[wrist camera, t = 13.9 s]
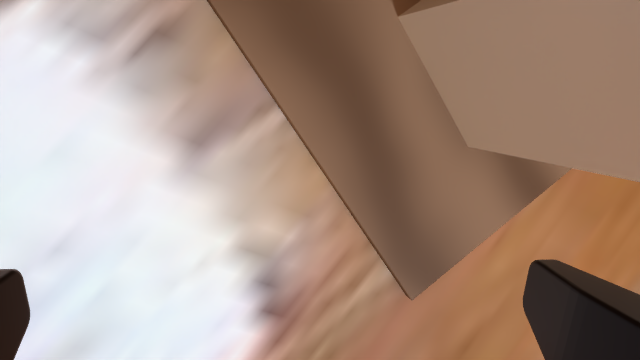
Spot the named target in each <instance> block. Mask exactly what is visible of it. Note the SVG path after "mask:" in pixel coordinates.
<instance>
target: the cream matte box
mask: <svg viewBox="0 0 640 360" xmlns="http://www.w3.org/2000/svg"><path fill="white" fill-rule="evenodd" d="M398 18H399V20H400V22H401V24H402V26H403V28H404V29H405V31H406V33H407V35H408V37H409V39H410V40H411V42H412V44H413V46H414V48H415V50H416V52H417V53H418V55H419V57H420V59H421V61H422V63H423V64H424V66H425V68H426V70H427V72H428V74H429V76H430V77H431V79H432V81H433V83H434V85H435V87H436V88H437V90H438V92H439V94H440V96H441V98H442V100H443V101H444V103H445V105H446V107H447V109H448V111H449V112H450V114H451V116H452V118H453V120H454V122H455V124H456V125H457V127H458V129H459V131H460V133H461V135H462V136H463V138H464V140H465V142H466V144H467V146H468V147H472V148H477V149H482V150H487V151H491V152H496V153H501V154H506V155H511V156H516V157H521V158H525V159H530V160H535V161H540V162H545V163H550V164H555V165H559V166H564V167H569V168H574V169H579V170H584V171H589V172H593V173H598V174H603V175H608V176H613V177H618V178H623V179H627V180H632V181H637V182H640V0H421V1H419V2H418V3H417V4H415V5H414V6H412V7H411V8H410V9H408V10H407V11H405V12H404V13H403V14H401V15H400V16H398Z"/></svg>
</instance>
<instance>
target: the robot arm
mask: <svg viewBox="0 0 640 360" xmlns="http://www.w3.org/2000/svg"><path fill="white" fill-rule="evenodd" d="M523 308H524V311H525V314H526V316H527V319H528V321H529V323H530V326H531V328H532V330H533V333H534V335H535V337H536V340H537V342H538V344H539V347H540V349H541V351H542V354H543V356H544V358H545V360H640V295H639V294H637V293H634V292H632V291H630V290H627V289H625V288H622V287H620V286H618V285H615V284H613V283H610V282H608V281H606V280H603V279H601V278H598V277H596V276H594V275H591V274H589V273H586V272H584V271H582V270H579V269H577V268H575V267H572V266H570V265H567V264H565V263H563V262H560V261H558V260H535V261H534V262H532V263H531V265H530V267H529V271H528V276H527V281H526V286H525V291H524V295H523ZM29 320H30V307H29V303H28V298H27V294H26V289H25V285H24V280H23V277H22V275H21V273H20V272H19V271H18V270H16V269H0V360H14V358H15V356H16V353H17V351H18V348H19V346H20V344H21V341H22V339H23V336H24V334H25V332H26V329H27V327H28V324H29Z"/></svg>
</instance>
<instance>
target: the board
mask: <svg viewBox="0 0 640 360" xmlns="http://www.w3.org/2000/svg"><path fill="white" fill-rule="evenodd" d="M207 1H208V3H209V4H210V6H211V7H212V9H213V10H214V12H215V13H216V15H217V16H218V18H219V19H220V21H221V22H222V24H223V25H224V26H225V28H226V29H227V31H228V32H229V34H230V35H231V37H232V38H233V40H234V41H235V43H236V44H237V46H238V47H239V49H240V50H241V52H242V53H243V55H244V56H245V58H246V59H247V61H248V62H249V63H250V65H251V66H252V68H253V69H254V71H255V72H256V74H257V75H258V77H259V78H260V80H261V81H262V83H263V84H264V86H265V87H266V89H267V90H268V92H269V93H270V95H271V96H272V98H273V99H274V100H275V102H276V103H277V105H278V106H279V108H280V109H281V111H282V112H283V114H284V115H285V117H286V118H287V120H288V121H289V123H290V124H291V126H292V127H293V129H294V130H295V132H296V133H297V135H298V136H299V137H300V139H301V140H302V142H303V143H304V145H305V146H306V148H307V149H308V151H309V152H310V154H311V155H312V157H313V158H314V160H315V161H316V163H317V164H318V166H319V167H320V169H321V170H322V172H323V173H324V174H325V176H326V177H327V179H328V180H329V182H330V183H331V185H332V186H333V188H334V189H335V191H336V192H337V194H338V195H339V197H340V198H341V200H342V201H343V203H344V204H345V206H346V207H347V209H348V210H349V211H350V213H351V214H352V216H353V217H354V219H355V220H356V222H357V223H358V225H359V226H360V228H361V229H362V231H363V232H364V234H365V235H366V237H367V238H368V240H369V241H370V243H371V244H372V246H373V247H374V248H375V250H376V251H377V253H378V254H379V256H380V257H381V259H382V260H383V262H384V263H385V265H386V266H387V268H388V269H389V271H390V272H391V274H392V275H393V277H394V278H395V280H396V281H397V283H398V284H399V285H400V287H401V288H402V290H403V291H404V293H405V294H406V296H407V297H408V298H409V299H411V300H413V299H414V298H416V297H417V296H418V295H419V294H420V293H422V292H423V291H424V290H425V289H427V288H428V287H429V286H430V285H431V284H433V283H434V282H435V281H436V280H437V279H439V278H440V277H441V276H442V275H443V274H445V273H446V272H447V271H448V270H450V269H451V268H452V267H453V266H454V265H456V264H457V263H458V262H459V261H460V260H462V259H463V258H464V257H465V256H466V255H468V254H469V253H470V252H471V251H473V250H474V249H475V248H476V247H477V246H479V245H480V244H481V243H482V242H483V241H485V240H486V239H487V238H488V237H489V236H491V235H492V234H493V233H494V232H496V231H497V230H498V229H499V228H500V227H502V226H503V225H504V224H505V223H506V222H508V221H509V220H510V219H511V218H512V217H514V216H515V215H516V214H517V213H519V212H520V211H521V210H522V209H523V208H525V207H526V206H527V205H528V204H529V203H531V202H532V201H533V200H534V199H535V198H537V197H538V196H539V195H540V194H542V193H543V192H544V191H545V190H546V189H548V188H549V187H550V186H551V185H552V184H554V183H555V182H556V181H557V180H559V179H560V178H561V177H562V176H563V175H565V174H566V173H567V172H568V171H569V170H571V169H572V168H569V167H564V166H559V165H555V164H550V163H545V162H540V161H535V160H530V159H525V158H521V157H516V156H511V155H506V154H501V153H496V152H491V151H487V150H482V149H477V148H472V147H468V146H467V144H466V142H465V140H464V138H463V136H462V135H461V133H460V131H459V129H458V127H457V125H456V124H455V122H454V120H453V118H452V116H451V114H450V112H449V111H448V109H447V107H446V105H445V103H444V101H443V100H442V98H441V96H440V94H439V92H438V90H437V88H436V87H435V85H434V83H433V81H432V79H431V77H430V76H429V74H428V72H427V70H426V68H425V66H424V64H423V63H422V61H421V59H420V57H419V55H418V53H417V52H416V50H415V48H414V46H413V44H412V42H411V40H410V39H409V37H408V35H407V33H406V31H405V29H404V28H403V26H402V24H401V22H400V20H399V18H398V16H400V15H401V14H403V13H404V12H405V11H407V10H408V9H410V8H411V7H412V6H414V5H415V4H417V3H418V2H419V1H421V0H207Z"/></svg>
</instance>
